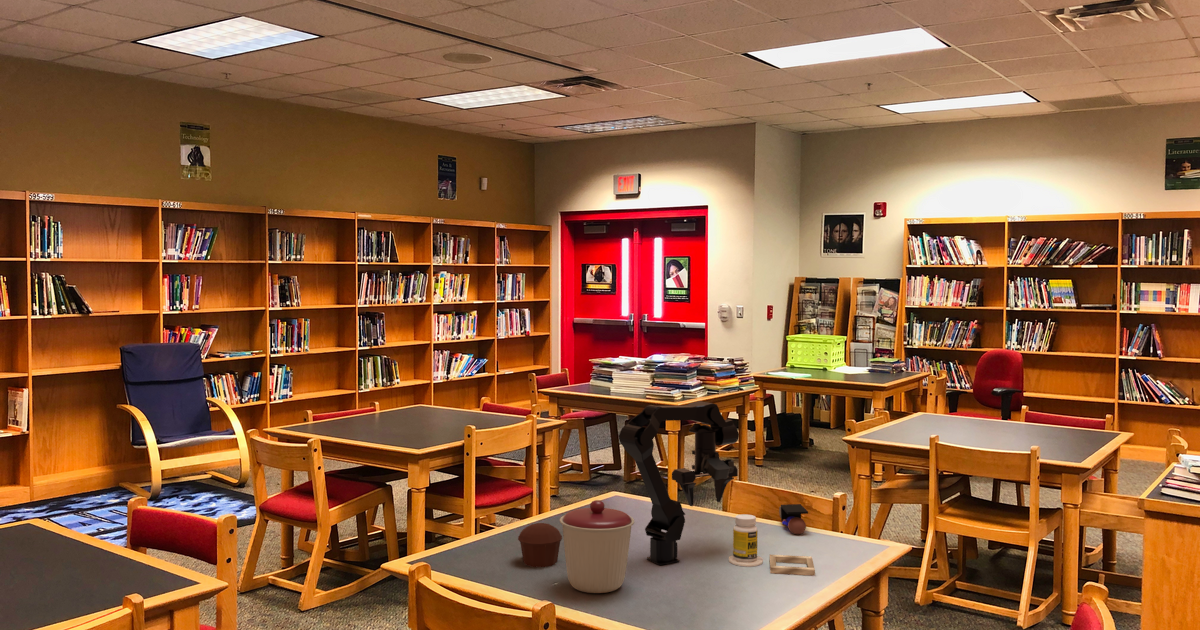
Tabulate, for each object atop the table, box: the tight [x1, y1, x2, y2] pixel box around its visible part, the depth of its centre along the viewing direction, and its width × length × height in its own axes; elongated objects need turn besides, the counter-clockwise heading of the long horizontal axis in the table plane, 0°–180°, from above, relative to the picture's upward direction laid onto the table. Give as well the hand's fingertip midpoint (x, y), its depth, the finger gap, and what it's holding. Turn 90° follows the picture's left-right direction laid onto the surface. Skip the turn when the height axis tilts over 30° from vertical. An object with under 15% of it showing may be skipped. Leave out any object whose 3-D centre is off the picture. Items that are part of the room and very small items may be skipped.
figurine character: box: [778, 503, 809, 536], centre depth 272 cm, size 7×8×15 cm
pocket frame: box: [769, 554, 816, 577], centre depth 236 cm, size 11×11×2 cm
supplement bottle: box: [732, 513, 758, 562], centre depth 241 cm, size 6×6×11 cm
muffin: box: [517, 522, 563, 568], centre depth 239 cm, size 12×11×10 cm
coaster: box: [728, 554, 764, 568], centre depth 241 cm, size 9×9×1 cm
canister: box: [559, 499, 635, 594], centre depth 220 cm, size 18×18×21 cm
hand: (704, 504), depth 250 cm, fingers open, 9 cm apart
